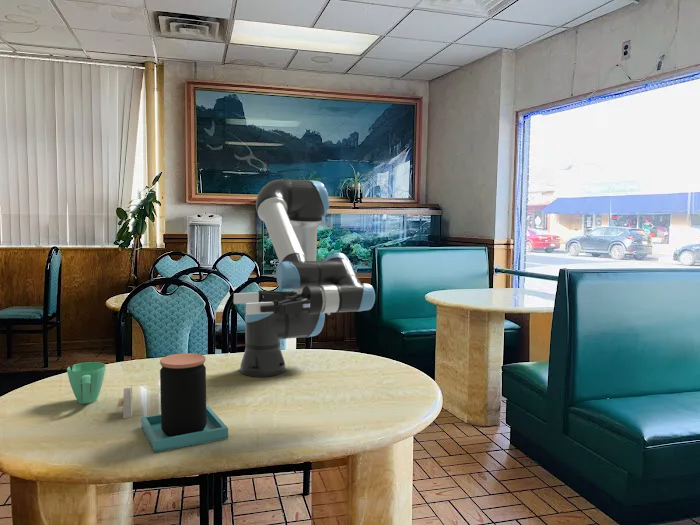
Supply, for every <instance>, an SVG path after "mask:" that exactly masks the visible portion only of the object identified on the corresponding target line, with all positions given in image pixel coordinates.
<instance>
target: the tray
mask: <svg viewBox="0 0 700 525" xmlns="http://www.w3.org/2000/svg"><path fill="white" fill-rule="evenodd" d="M206 416H207V423H206V426H205V428H204V430H203V431H200V432H194V433H189V434H183V435H178V436H173V437H169V436H167V435H165V433H164V432H163V431H162V428H161V413H157V414H156V413H155V414H151V415H144V416H141V417H140V418H141V429H142V430H144V431H143V433H144V435H145V436H147V437H146V439H147V441H148V440H149V441H148V443H149V442H150V443H149V444H151V445H150V446H152V447H151V448H153V449H152V450H154V451H153V452H154V453H155V452H156V453H159V451H161V452H165V451H164V450H166V451H169V450H168V449H171V450H175V449H174V448H176V449H180V448H179V447H181V448H185V447H184V446H187V447H190V445H192V446H195V445H196V444H197V445H201V444H206V443H212V442H217V441H222V439H223V440H226V439H227V438H228V439H229V428H228V426H227V425H226V424H225V423H224V422H223V421H222V419H221V418H220V417H219V416H218V415H217V414H216V412H214V410H213V409H212V408H211V407H210V406H209V405H208V406H207V405H206ZM228 439H227V440H228Z"/></svg>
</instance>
